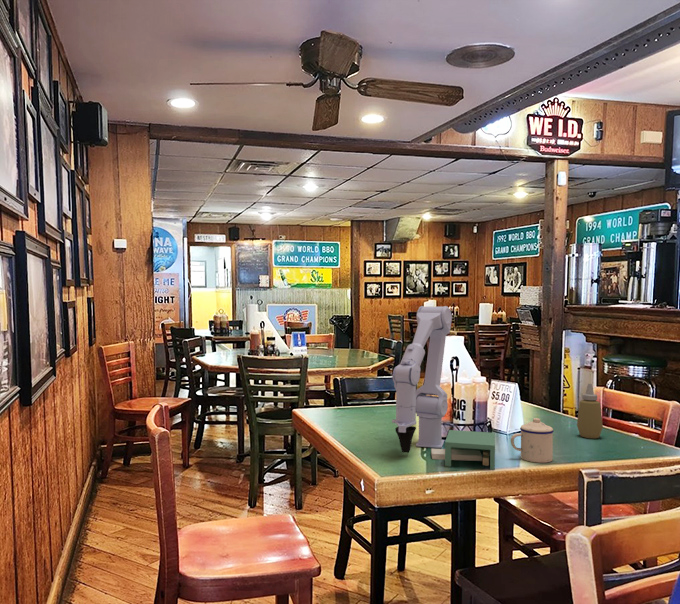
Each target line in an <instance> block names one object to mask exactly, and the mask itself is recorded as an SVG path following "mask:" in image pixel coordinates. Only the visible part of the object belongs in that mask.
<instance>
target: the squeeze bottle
mask: <svg viewBox="0 0 680 604" xmlns="http://www.w3.org/2000/svg"><path fill="white" fill-rule="evenodd" d="M601 405H602V404H601V402H600V401H599V400H598V394H595V393H594V388H593V384H592V383H587V386H586V391H585V393H582V399H581V400H579V404H578V413H577V420H576V421H577V422H576V423H577V424H576V427H577V429H578V433H579V436H580V437H583V438H585V439H598V438H600V436H601V433H602V431H603V428H604V426H603V416H602V407H601Z"/></svg>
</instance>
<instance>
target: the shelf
mask: <svg viewBox="0 0 680 604" xmlns="http://www.w3.org/2000/svg"><path fill="white" fill-rule="evenodd" d="M495 437H496V435H495V432H487V431H474V430H473V431H471V430H459V429H458V430H453V429H449V430H448V433H447V435H446V439H445V440H444V449H445V460H444V467H452V460H451V449H458V450H479V451H480V453H481V454H482V466H487V467H488V466H489V467H490V468H489V469H490V470H492V471H494V470H496V469H495V468H496V440H495V439H496V438H495Z"/></svg>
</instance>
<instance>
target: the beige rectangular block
mask: <svg viewBox="0 0 680 604" xmlns="http://www.w3.org/2000/svg"><path fill="white" fill-rule="evenodd" d="M430 453H431V458H432V460H444V461H445V448H430ZM451 461H468V462H469V461H470V462H471V461H472V462H473V461H477V462H483V455H482V454H481V453H480V451H479V450H458V449H451Z"/></svg>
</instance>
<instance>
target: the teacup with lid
mask: <svg viewBox="0 0 680 604" xmlns="http://www.w3.org/2000/svg"><path fill="white" fill-rule="evenodd" d="M519 429H520V433H517V432H516V433H514V434H513V435H512V436H511V437H510V444H511V447H512V448H513V449H514V450H515V451H518V452H520V457H521V459H522V460H524V461H527V462H531V463H538V464H541V463H542V464H543V463H546V464H547V463H550V462H552V461H553V457H554V455H553V453H554V451H553V450H554V447H553V445H554V444H553V438H554V434H553V433H554V429H553V427H551V426H550V425H546V424H545V423H544V422H542V421H541V418H537V417H535V418H532V421H530V422H528V423H525V424H522V425H521V426H520V428H519ZM517 437H520V447H517V446H516V445H515V442H514V441H515V438H517Z"/></svg>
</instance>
